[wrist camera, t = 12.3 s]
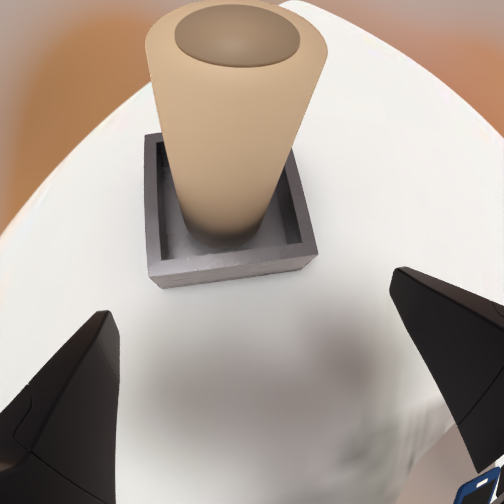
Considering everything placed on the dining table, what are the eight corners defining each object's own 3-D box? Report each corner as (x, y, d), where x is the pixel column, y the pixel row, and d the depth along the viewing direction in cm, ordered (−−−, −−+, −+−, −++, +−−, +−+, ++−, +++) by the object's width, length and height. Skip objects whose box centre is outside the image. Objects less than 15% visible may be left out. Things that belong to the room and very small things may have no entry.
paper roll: (279, 205, 21) (356, 40, 8) (228, 265, 20) (255, 119, 6) (218, 161, 22) (229, -15, 8) (165, 214, 20) (108, 42, 7)
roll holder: (300, 269, 21) (318, 254, 17) (161, 288, 20) (148, 276, 16) (274, 153, 23) (284, 122, 20) (154, 165, 22) (144, 135, 18)
